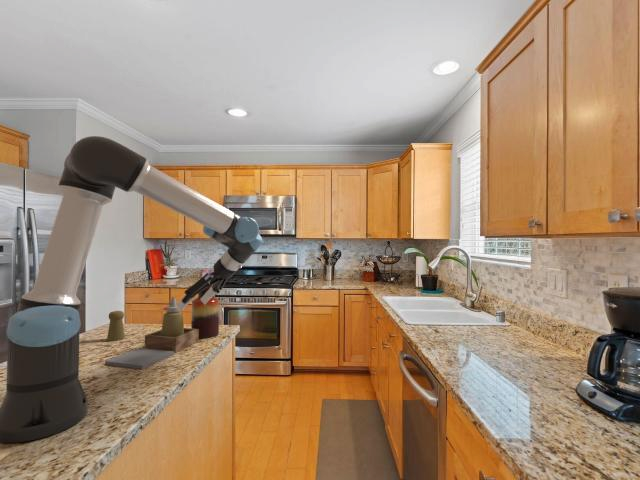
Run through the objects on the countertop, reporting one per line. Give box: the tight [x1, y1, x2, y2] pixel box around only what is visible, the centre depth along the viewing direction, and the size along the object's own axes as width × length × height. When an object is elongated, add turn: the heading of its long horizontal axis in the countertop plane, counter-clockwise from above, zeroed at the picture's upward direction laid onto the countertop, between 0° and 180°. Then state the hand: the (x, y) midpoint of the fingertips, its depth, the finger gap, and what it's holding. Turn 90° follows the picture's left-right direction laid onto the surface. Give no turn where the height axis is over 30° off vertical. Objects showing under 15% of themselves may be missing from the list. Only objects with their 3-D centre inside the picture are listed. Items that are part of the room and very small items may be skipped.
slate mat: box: [104, 347, 175, 370], centre depth 107 cm, size 14×14×1 cm
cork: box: [106, 310, 126, 342], centre depth 130 cm, size 6×6×11 cm
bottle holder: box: [144, 327, 200, 354], centre depth 122 cm, size 13×13×5 cm
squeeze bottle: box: [161, 296, 185, 337], centre depth 122 cm, size 8×8×18 cm
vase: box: [190, 285, 220, 340], centre depth 137 cm, size 11×11×20 cm
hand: (191, 304), depth 121 cm, fingers open, 13 cm apart
